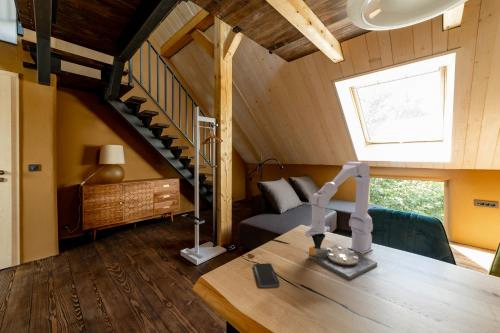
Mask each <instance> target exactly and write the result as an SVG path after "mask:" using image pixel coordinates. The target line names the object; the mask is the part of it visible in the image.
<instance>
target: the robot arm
mask: <svg viewBox="0 0 500 333" xmlns="http://www.w3.org/2000/svg"><path fill="white" fill-rule="evenodd" d="M370 171H371V166H369V164H368V163H367V162H365V161H351V160H350V161H346V162H345V164H343V165H342V169H341V170H340V171H339V173H338V174H337V175H336V176H335V177H334V178H333V179H332V180H331V181H328V182H324V184H323V186H322V187H321V188H320V189H319V190H318V191H317V192H315V193H313V194H312V195H311V196H310V198H309V203H310V204H311V226H309V229H308V230H306V231H305V232H304V234H305V235H304V236H305V237H307V238H312V241H313V244H314V246H315V247H321V248H322V243H323V241H324V239H325V238H326V234H325V233H326V232H330V231H331V228H330V226H329V225H328V226H327V225H326V207H328V206H329V202H330V200H331V198H332V197H333V196H334V195H335V194H336V193H337V192H338V187H340V186H341V184H343V183H344V182H345V181H346V180H347V179H348V178H349V177H350V178H351V177H353V179H354V180H356V192H355V205H354V206H355V207H354V212H351V214H350V218H349V221H348V225H349V227H350V228H351V231H352V232H351V245H349V246H348V247H347V248H348V250H349V249H350V250H351V251H355V252H357V253H358V254H359V253H360V254H362V255H363V254H367V253H368V252H371V251H373V250H374V248H373V247H372V243H373V235H372V234H371V233H372V232H373V229H374V224H373V218H372V217H371V216H370V214H369V213H368V211H369V210H368V208H369V195H370V194H369V193H370V179H371V177H370V176H371V175H370Z"/></svg>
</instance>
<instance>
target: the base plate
mask: <svg viewBox="0 0 500 333" xmlns="http://www.w3.org/2000/svg"><path fill="white" fill-rule="evenodd" d="M338 247H341V248H342V249H345V248H343V247H342V246H339V245H337V244H335V245H333V246H330V247H328V248H330V249H331V248H338ZM355 254H357V255H358V257H359V261H358V263H357V264H356V265H351V266H347V265H340V264H337V263H334V262H332V261H330V260H329V259H328V258H327V257H326V256H317V255H316V256H315V255H309V254H308V259H310V260H311V261H312V262H315V263H317V264H319V265H320V266H322V267H323V268H326V269H327V270H330V271H331V272H333V273H335V274H337V275H339V276H341V277H342V278H345V279H347V280H348V281H351V280H353V279H355V278H357V277H358V276H360V275H362V274H365V273H367V272H368V271H370V270H371V269H373V268H376V267H378V262H377V261H375V260H372V259H369V258H368V257H365V256H364V255H360V254H359V253H356V252H355Z"/></svg>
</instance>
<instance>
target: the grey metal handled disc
mask: <svg viewBox="0 0 500 333" xmlns="http://www.w3.org/2000/svg"><path fill="white" fill-rule="evenodd" d="M341 247H342V246H339V247H338V248H331V249H330V248H329V247H322V246H321V247H315V245H314V246H312V245H308V256H309V255H315V256H316V255H317V256H326V257H327V258H328V259H329V260H330V261H332V262H334V263H337V264H340V265H347V266H351V265H356V264H357V263H358V261H359V257H358V255H359V254H358V253H356V251H354V250H349V249H346V248H344V249H342V248H343V247H342V248H341ZM355 253H356V254H355ZM357 254H358V255H357Z"/></svg>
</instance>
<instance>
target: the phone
mask: <svg viewBox="0 0 500 333" xmlns="http://www.w3.org/2000/svg"><path fill="white" fill-rule="evenodd" d="M252 267H253V271H254V276H255V279H256V283H257V288H259V289H269V288H271V289H272V288H279V287H280V281H279V278H278V276H277V274H276V271H275V269H274V266H273V264H272V263H269V262H268V263H267V262H266V263H254V264H253V266H252Z"/></svg>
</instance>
